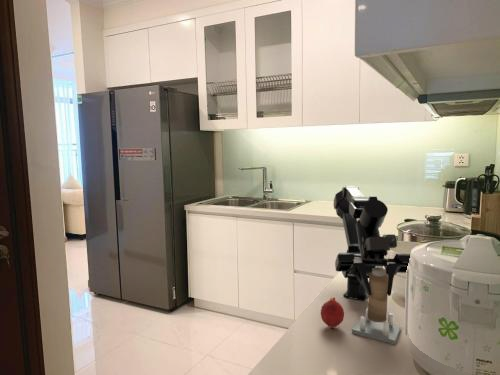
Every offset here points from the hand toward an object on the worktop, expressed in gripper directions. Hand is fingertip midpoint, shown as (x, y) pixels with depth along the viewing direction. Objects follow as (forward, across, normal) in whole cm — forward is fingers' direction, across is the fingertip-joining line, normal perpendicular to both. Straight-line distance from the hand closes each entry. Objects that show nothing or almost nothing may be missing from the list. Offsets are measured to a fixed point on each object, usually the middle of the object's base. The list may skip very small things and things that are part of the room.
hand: (379, 295), depth 86 cm
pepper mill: (+4, 0, +6) cm, 7 cm away
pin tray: (+6, 0, +8) cm, 10 cm away
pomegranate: (+6, -11, +9) cm, 15 cm away
